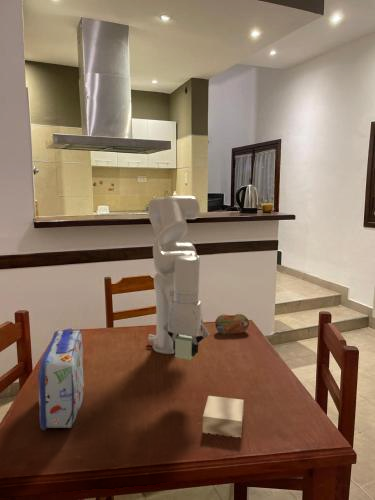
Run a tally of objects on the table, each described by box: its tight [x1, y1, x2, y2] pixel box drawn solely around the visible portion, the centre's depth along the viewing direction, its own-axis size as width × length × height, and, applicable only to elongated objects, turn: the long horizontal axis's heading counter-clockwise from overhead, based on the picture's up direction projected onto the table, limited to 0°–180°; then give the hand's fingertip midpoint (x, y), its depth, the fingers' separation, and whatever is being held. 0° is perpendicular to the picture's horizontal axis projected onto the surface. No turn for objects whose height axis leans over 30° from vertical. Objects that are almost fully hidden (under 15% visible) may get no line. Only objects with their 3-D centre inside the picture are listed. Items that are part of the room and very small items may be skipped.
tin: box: [214, 313, 250, 335], centre depth 166 cm, size 15×3×8 cm, turn 97°
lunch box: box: [37, 328, 85, 431], centre depth 107 cm, size 28×10×22 cm, turn 12°
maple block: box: [202, 395, 245, 439], centre depth 101 cm, size 10×10×5 cm
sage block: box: [174, 334, 193, 361], centre depth 115 cm, size 5×5×6 cm
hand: (185, 352), depth 116 cm, fingers closed on sage block, 5 cm apart
